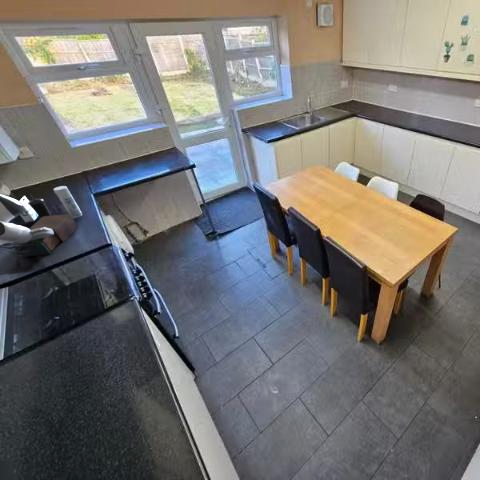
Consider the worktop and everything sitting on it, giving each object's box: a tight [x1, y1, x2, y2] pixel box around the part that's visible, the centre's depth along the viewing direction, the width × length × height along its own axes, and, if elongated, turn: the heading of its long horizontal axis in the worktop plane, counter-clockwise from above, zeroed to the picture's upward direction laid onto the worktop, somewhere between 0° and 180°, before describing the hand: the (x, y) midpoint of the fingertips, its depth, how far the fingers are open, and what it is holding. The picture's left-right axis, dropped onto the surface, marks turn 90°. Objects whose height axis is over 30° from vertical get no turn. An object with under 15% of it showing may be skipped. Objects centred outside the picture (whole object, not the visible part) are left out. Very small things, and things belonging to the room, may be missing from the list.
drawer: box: [12, 233, 61, 258], centre depth 150 cm, size 20×13×8 cm, turn 10°
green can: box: [30, 238, 43, 243], centre depth 150 cm, size 6×6×8 cm
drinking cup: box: [28, 191, 53, 219], centre depth 172 cm, size 8×8×20 cm
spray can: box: [53, 185, 83, 219], centre depth 175 cm, size 6×6×20 cm
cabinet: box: [29, 213, 79, 244], centre depth 161 cm, size 17×15×10 cm
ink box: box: [18, 195, 40, 223], centre depth 175 cm, size 8×5×15 cm, turn 25°
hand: (37, 239), depth 150 cm, fingers closed on green can, 5 cm apart
